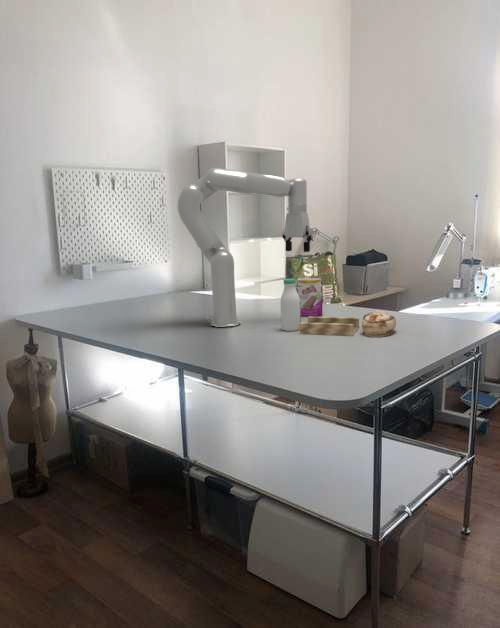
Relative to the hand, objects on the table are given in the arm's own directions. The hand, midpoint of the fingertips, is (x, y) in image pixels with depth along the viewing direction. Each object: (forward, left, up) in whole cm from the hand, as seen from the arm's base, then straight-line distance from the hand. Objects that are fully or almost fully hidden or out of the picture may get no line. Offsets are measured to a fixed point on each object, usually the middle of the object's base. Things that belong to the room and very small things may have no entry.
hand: (297, 251), depth 223 cm
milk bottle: (+2, -18, -30) cm, 35 cm away
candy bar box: (+2, +11, -30) cm, 31 cm away
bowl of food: (+36, -18, -30) cm, 50 cm away
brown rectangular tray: (+17, -18, -29) cm, 39 cm away
